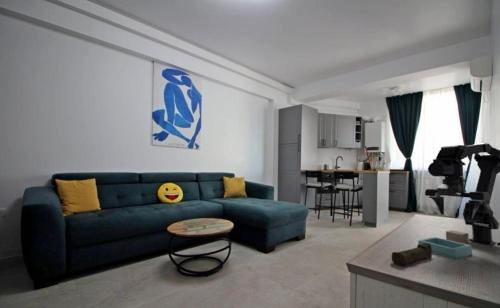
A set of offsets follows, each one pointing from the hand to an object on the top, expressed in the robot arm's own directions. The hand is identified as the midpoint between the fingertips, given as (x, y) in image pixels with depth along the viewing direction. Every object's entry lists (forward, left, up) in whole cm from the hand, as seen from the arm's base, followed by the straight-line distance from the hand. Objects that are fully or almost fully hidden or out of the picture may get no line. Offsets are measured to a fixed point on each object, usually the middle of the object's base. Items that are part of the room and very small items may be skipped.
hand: (456, 216), depth 90 cm
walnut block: (0, 0, -11) cm, 11 cm away
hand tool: (+33, +2, -12) cm, 35 cm away
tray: (+14, +2, -11) cm, 18 cm away
